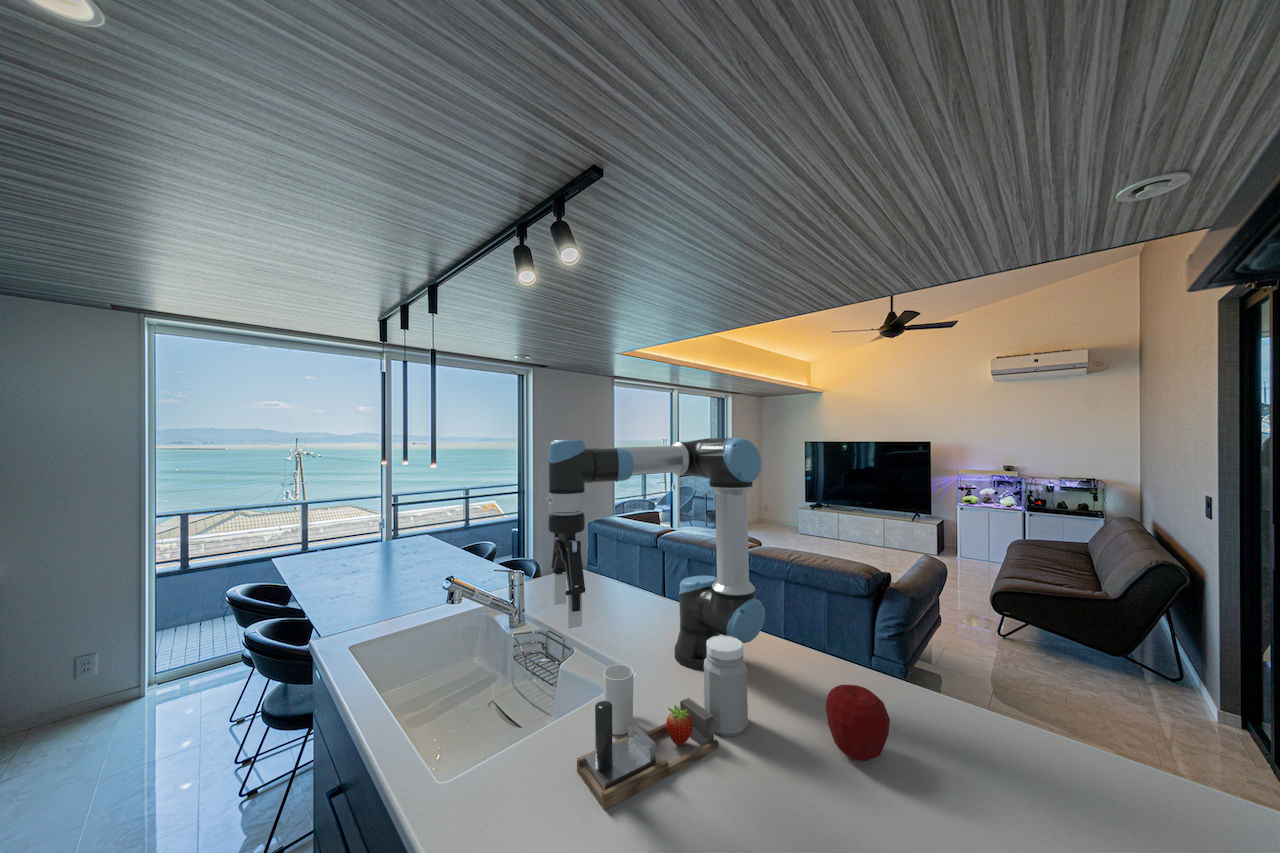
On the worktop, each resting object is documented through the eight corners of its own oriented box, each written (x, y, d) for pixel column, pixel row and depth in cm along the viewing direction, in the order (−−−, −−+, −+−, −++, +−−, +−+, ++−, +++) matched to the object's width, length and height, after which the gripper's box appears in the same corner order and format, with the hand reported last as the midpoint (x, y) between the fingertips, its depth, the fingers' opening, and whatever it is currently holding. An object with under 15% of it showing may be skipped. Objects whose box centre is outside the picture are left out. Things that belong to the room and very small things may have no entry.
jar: (752, 717, 101) (750, 638, 102) (743, 743, 92) (741, 656, 93) (710, 707, 105) (709, 630, 106) (698, 731, 96) (697, 648, 97)
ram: (633, 742, 90) (632, 681, 91) (655, 765, 84) (654, 700, 84) (584, 764, 84) (584, 699, 85) (605, 791, 78) (604, 720, 78)
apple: (864, 785, 81) (862, 711, 81) (813, 746, 91) (811, 681, 92) (904, 762, 86) (901, 693, 87) (851, 729, 97) (849, 667, 97)
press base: (685, 721, 100) (684, 694, 100) (718, 749, 91) (718, 719, 91) (576, 771, 85) (576, 739, 85) (604, 810, 76) (604, 774, 76)
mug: (627, 739, 94) (626, 682, 95) (598, 732, 96) (598, 676, 97) (643, 712, 104) (642, 660, 104) (617, 706, 106) (616, 656, 106)
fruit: (688, 735, 95) (687, 697, 95) (695, 752, 90) (694, 712, 90) (664, 738, 94) (663, 700, 94) (670, 755, 89) (669, 715, 89)
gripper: (538, 506, 103) (538, 597, 102) (561, 523, 80) (561, 641, 79) (570, 504, 106) (570, 593, 105) (601, 520, 83) (601, 634, 82)
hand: (566, 614), depth 92 cm, fingers open, 13 cm apart
